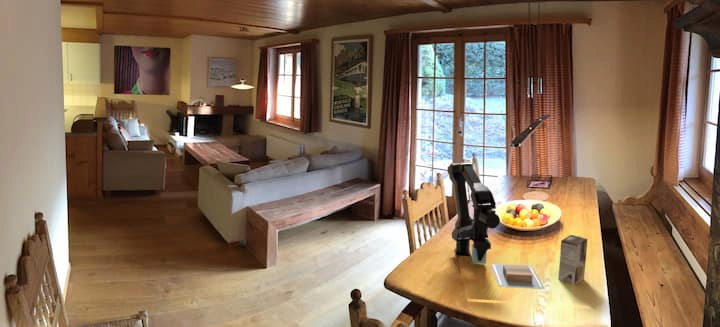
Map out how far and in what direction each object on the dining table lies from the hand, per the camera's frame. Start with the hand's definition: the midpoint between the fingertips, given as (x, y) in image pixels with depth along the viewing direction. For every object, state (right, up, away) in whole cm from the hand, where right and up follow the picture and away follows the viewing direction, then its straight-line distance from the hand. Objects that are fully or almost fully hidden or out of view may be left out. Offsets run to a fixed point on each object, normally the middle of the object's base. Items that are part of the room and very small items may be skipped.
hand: (478, 258), depth 197 cm
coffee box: (+32, -6, -12) cm, 34 cm away
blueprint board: (+12, -5, -10) cm, 16 cm away
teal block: (0, -1, 0) cm, 1 cm away
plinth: (+12, -5, -12) cm, 17 cm away
